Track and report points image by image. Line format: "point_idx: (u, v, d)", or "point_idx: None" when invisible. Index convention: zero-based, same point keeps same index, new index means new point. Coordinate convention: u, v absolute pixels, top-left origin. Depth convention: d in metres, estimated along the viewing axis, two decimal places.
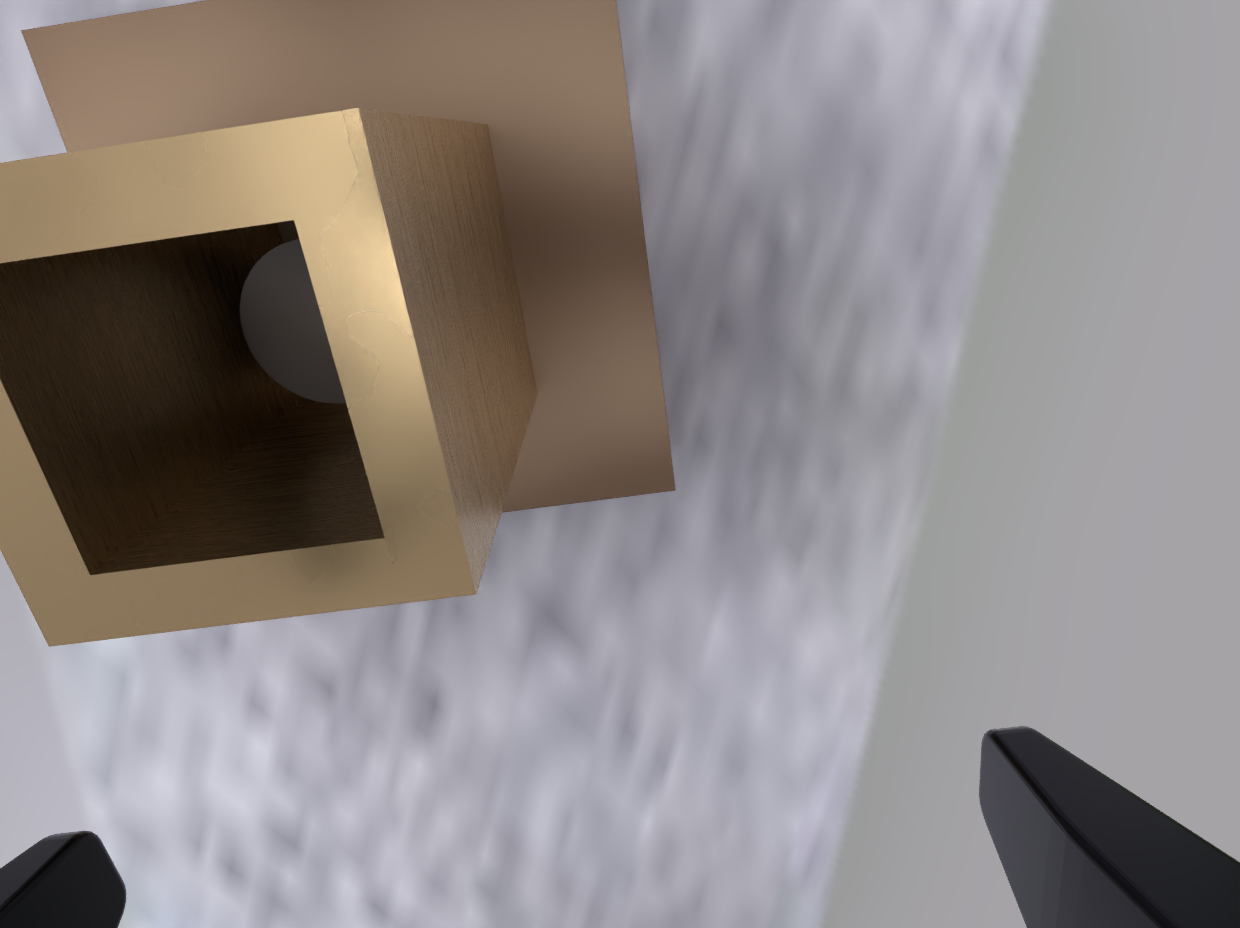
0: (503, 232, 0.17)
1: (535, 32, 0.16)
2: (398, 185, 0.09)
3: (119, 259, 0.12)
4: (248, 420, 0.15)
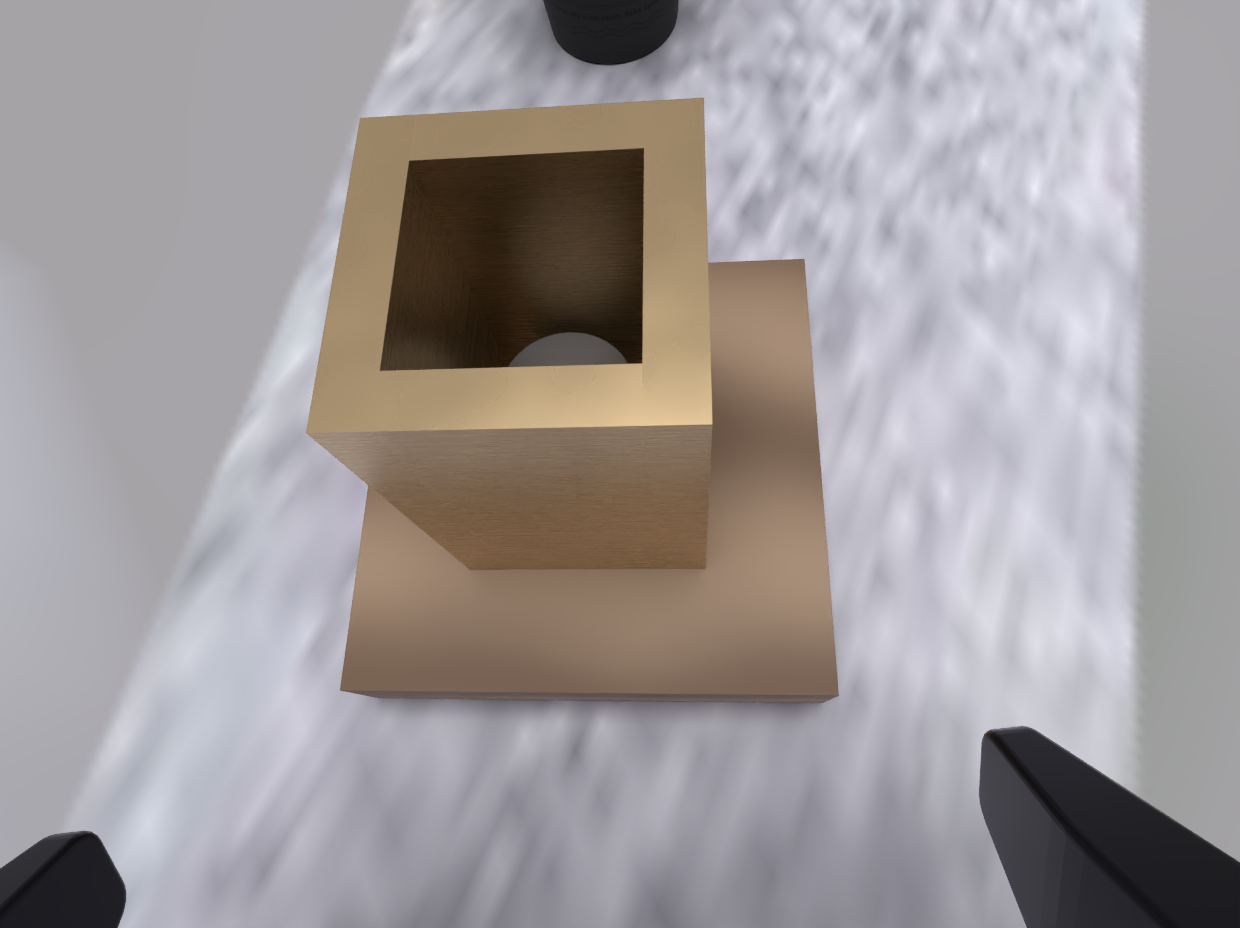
0: None
1: (746, 305, 0.22)
2: None
3: (458, 279, 0.16)
4: None
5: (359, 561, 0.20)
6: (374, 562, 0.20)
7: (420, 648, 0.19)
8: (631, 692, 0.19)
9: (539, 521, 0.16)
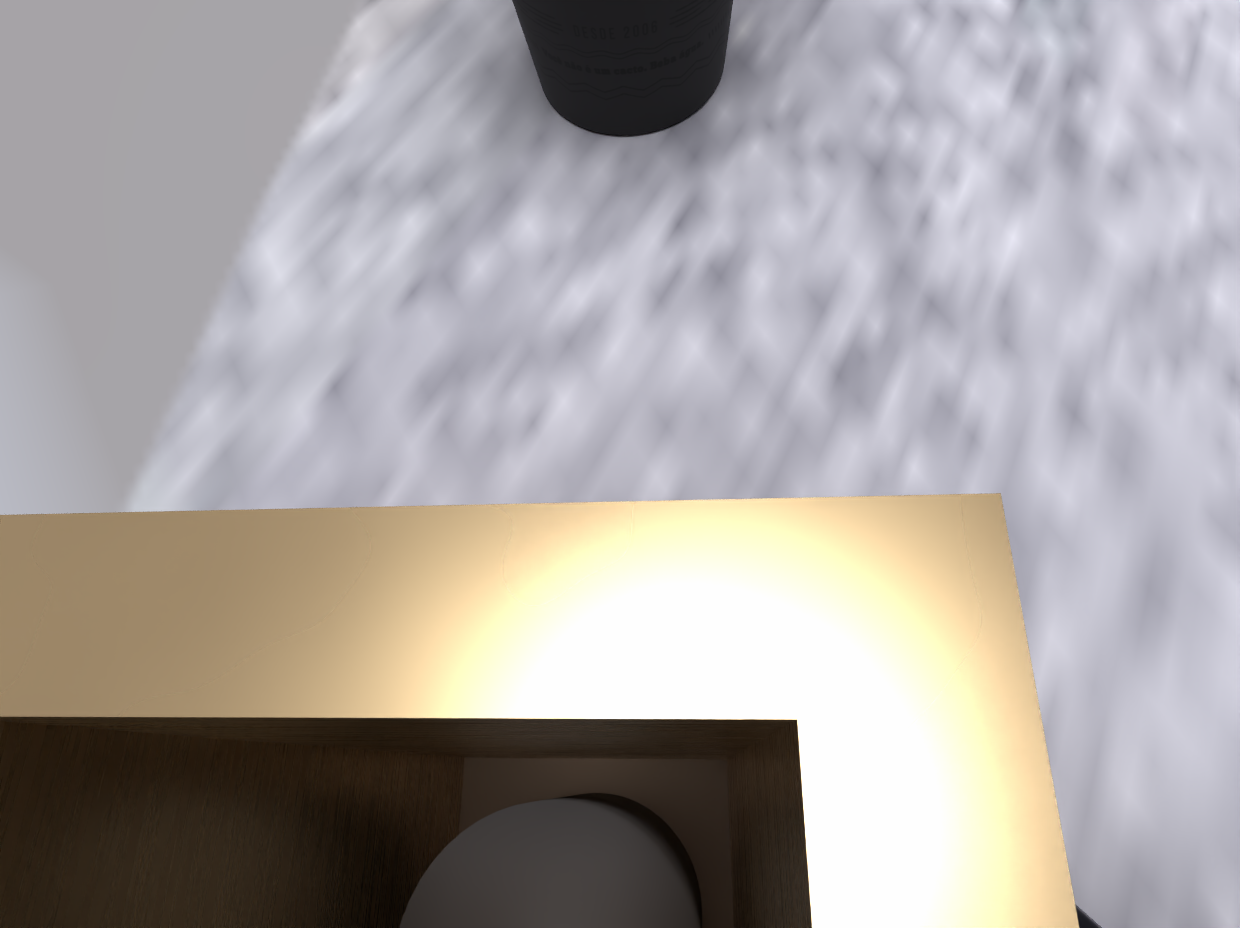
0: None
1: None
2: None
3: (261, 781, 0.06)
4: None
5: None
6: None
7: None
8: None
9: None
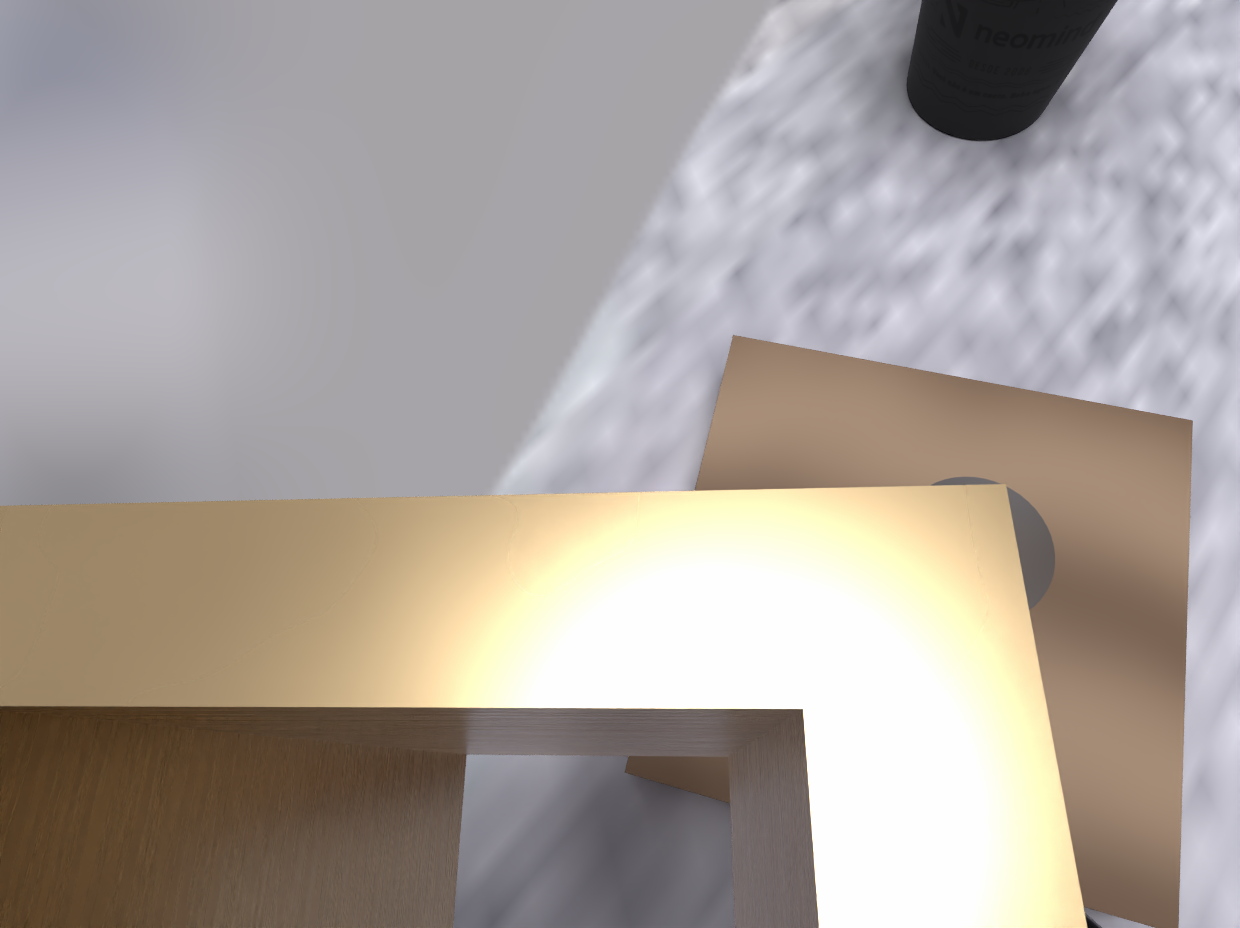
0: None
1: (1118, 458, 0.20)
2: None
3: (264, 775, 0.06)
4: None
5: None
6: None
7: None
8: None
9: None
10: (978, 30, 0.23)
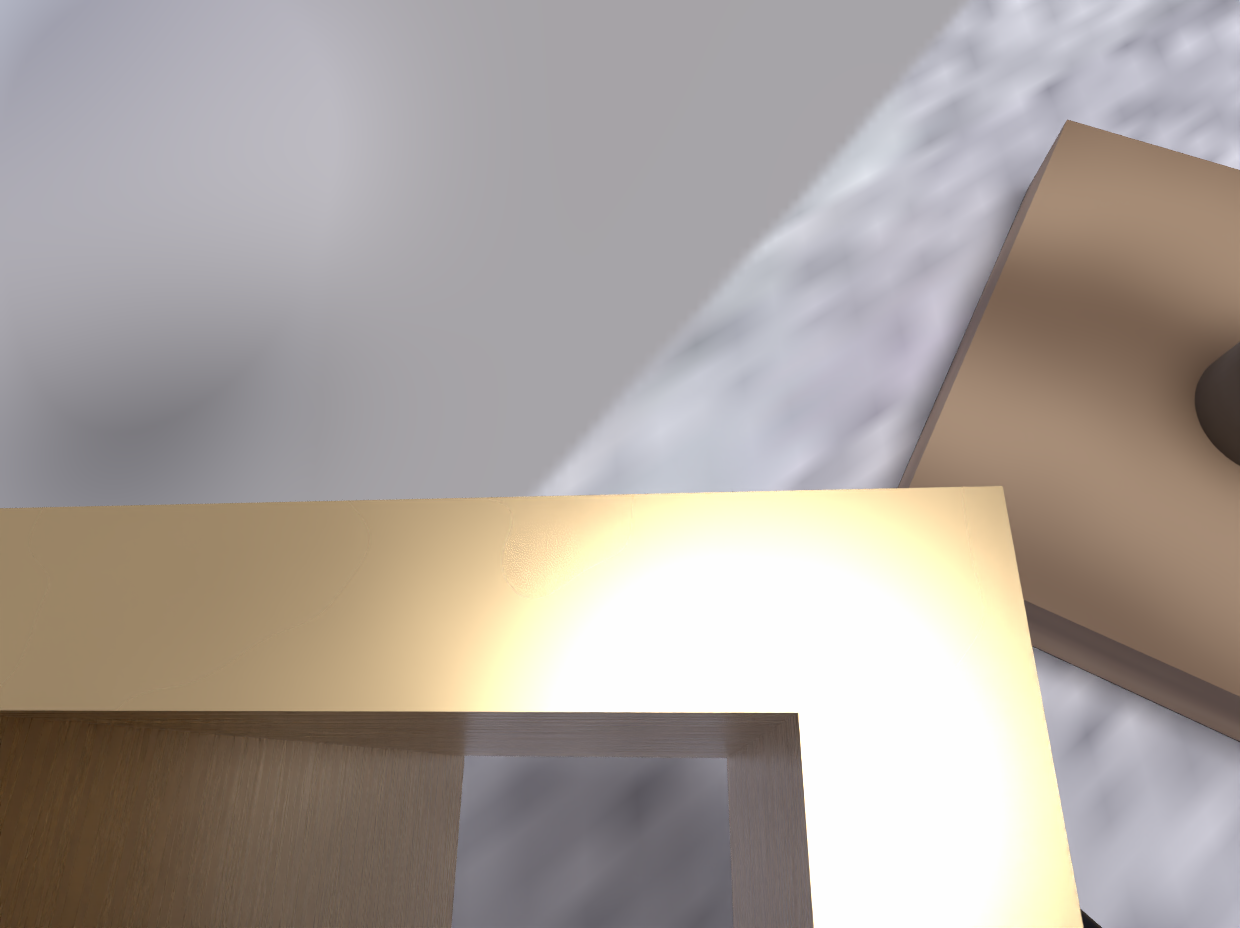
0: None
1: None
2: None
3: (260, 778, 0.06)
4: None
5: (944, 409, 0.17)
6: (962, 418, 0.17)
7: None
8: None
9: None
10: None
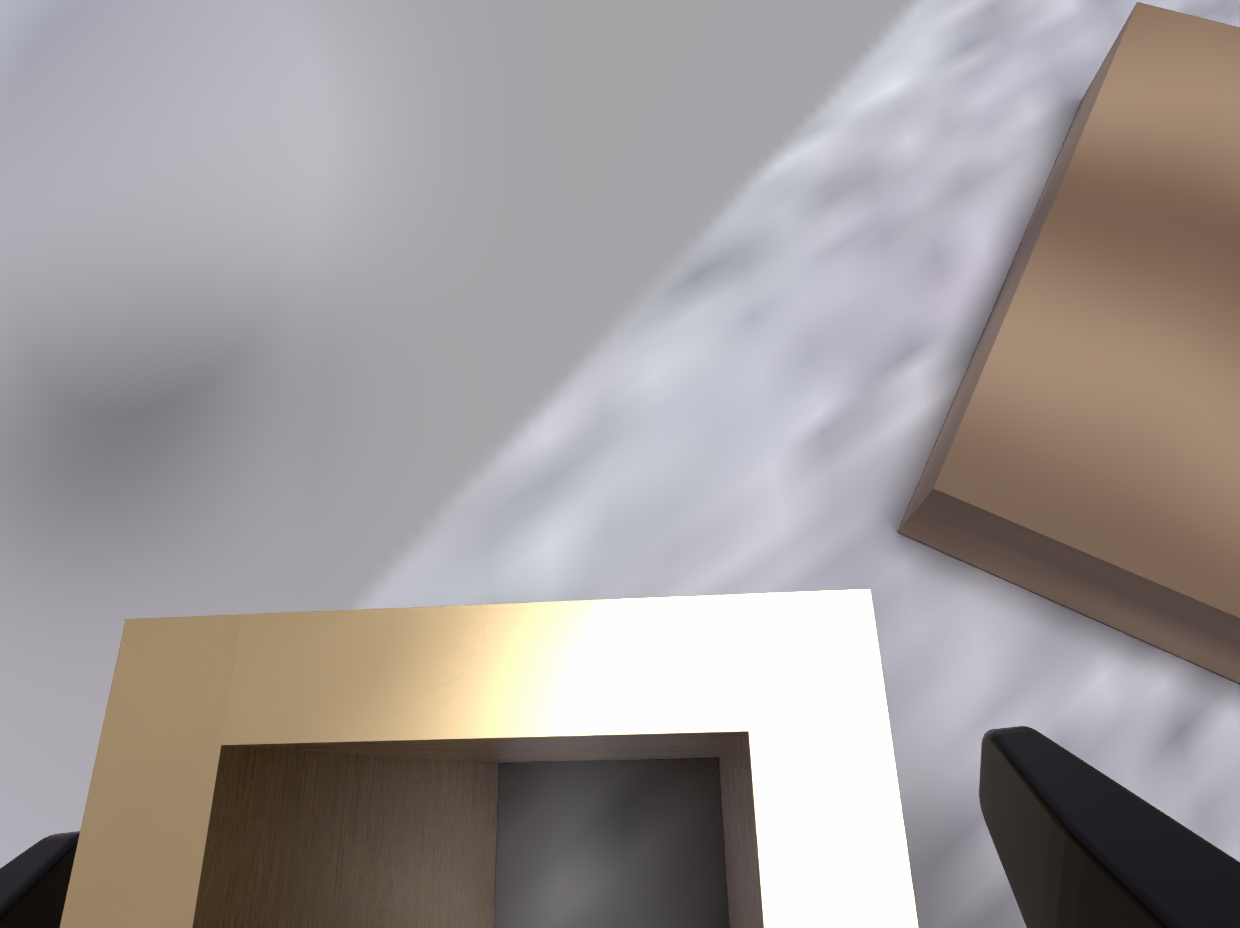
0: None
1: None
2: None
3: (371, 783, 0.09)
4: None
5: (1001, 334, 0.14)
6: (1023, 344, 0.14)
7: (1071, 484, 0.13)
8: None
9: None
10: None
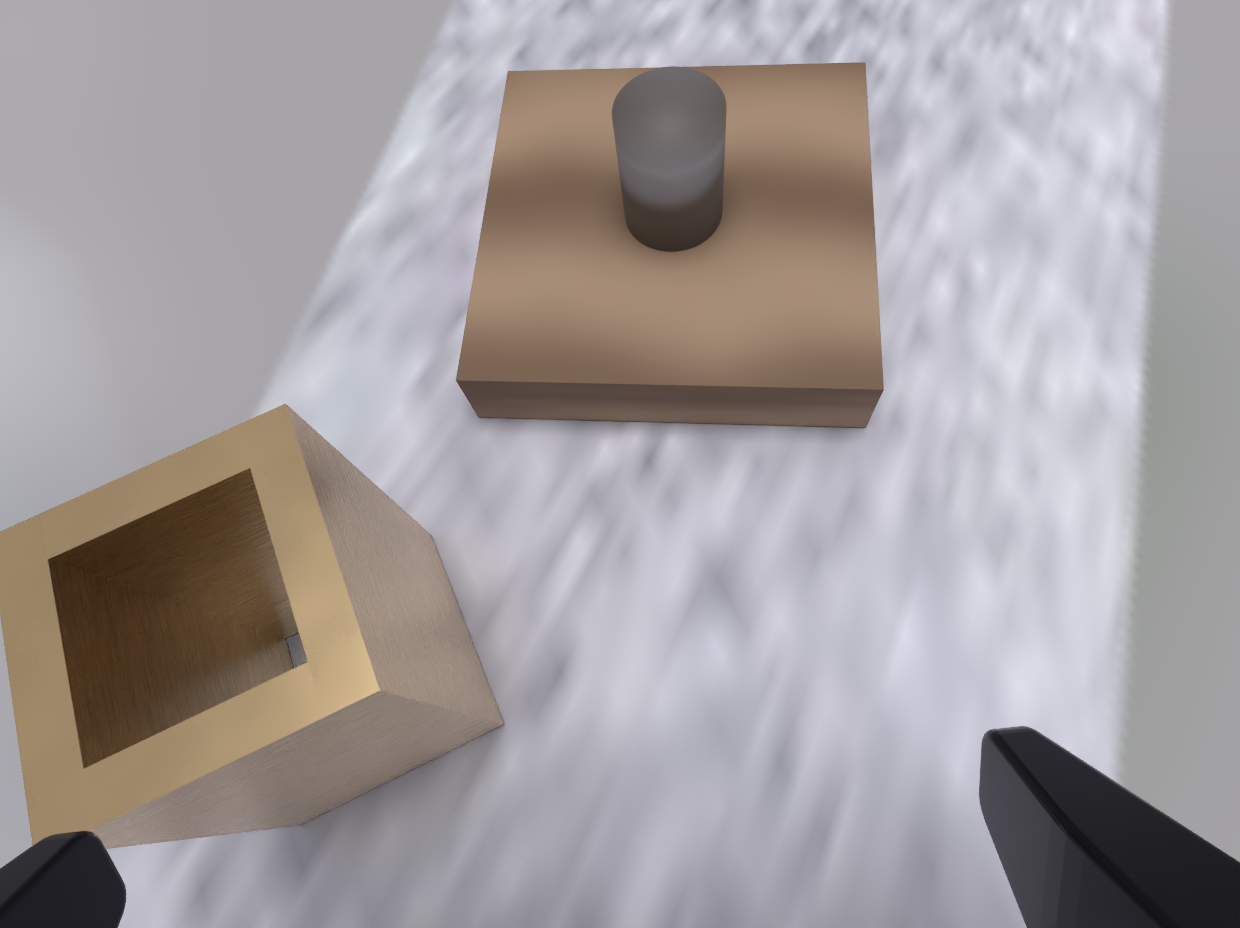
0: (449, 594, 0.22)
1: (813, 97, 0.25)
2: (317, 455, 0.16)
3: (156, 607, 0.17)
4: None
5: (473, 285, 0.24)
6: (486, 286, 0.24)
7: (524, 350, 0.23)
8: (705, 385, 0.22)
9: (319, 781, 0.17)
10: None
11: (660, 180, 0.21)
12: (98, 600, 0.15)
